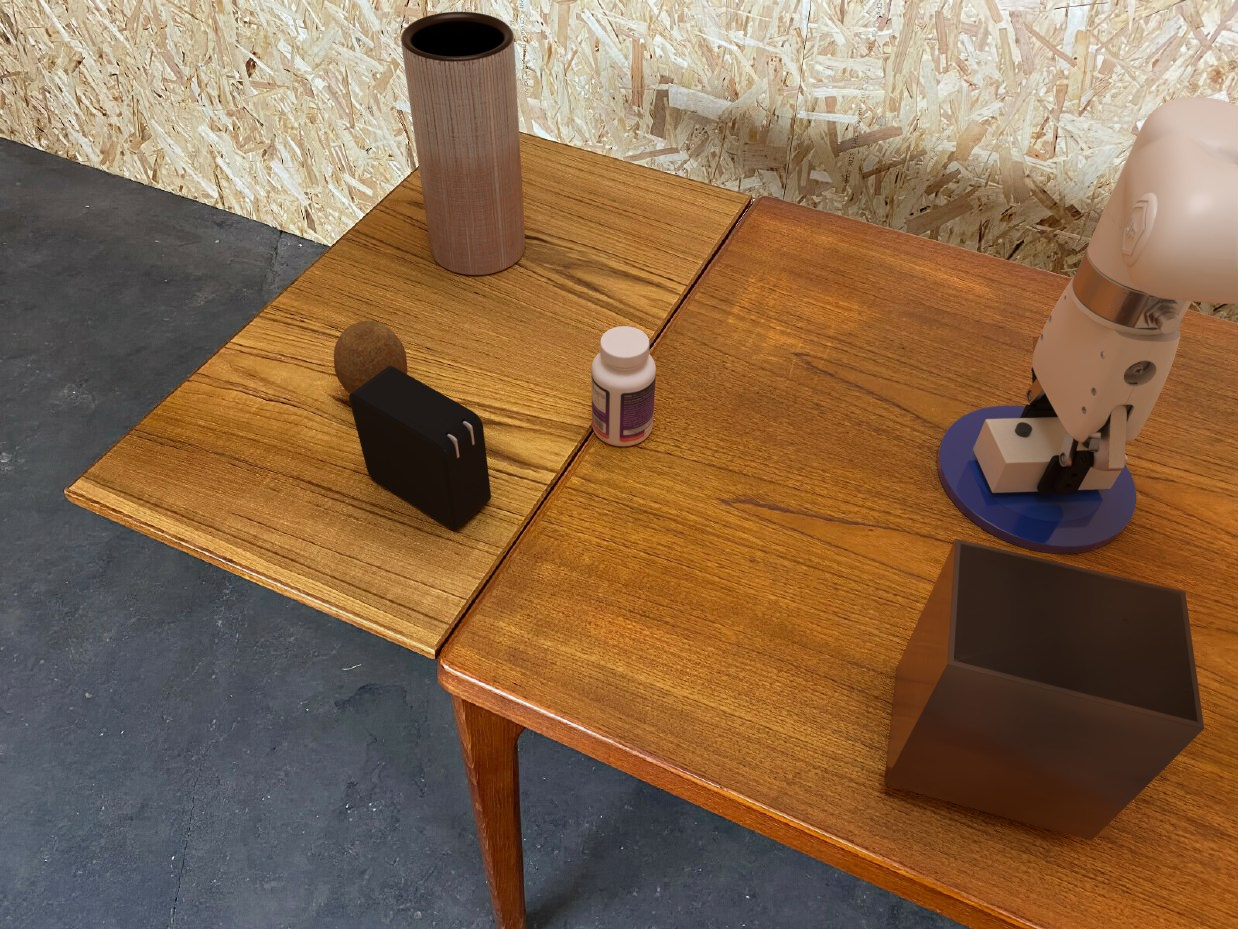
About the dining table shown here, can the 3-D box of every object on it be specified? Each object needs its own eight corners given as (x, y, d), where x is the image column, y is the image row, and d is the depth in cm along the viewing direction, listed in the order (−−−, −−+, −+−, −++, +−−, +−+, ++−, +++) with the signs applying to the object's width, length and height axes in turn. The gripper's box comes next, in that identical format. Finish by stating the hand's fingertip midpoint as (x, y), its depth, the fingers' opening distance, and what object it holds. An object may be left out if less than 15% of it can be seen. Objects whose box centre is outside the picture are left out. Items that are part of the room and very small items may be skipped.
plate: (1125, 434, 85) (1129, 426, 84) (1139, 574, 74) (1144, 567, 74) (942, 397, 88) (945, 389, 87) (930, 527, 77) (933, 519, 76)
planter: (533, 226, 105) (523, 14, 88) (516, 281, 98) (501, 62, 81) (443, 218, 105) (416, 6, 89) (420, 272, 99) (386, 53, 82)
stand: (1086, 716, 66) (1185, 591, 55) (1091, 841, 60) (1204, 729, 49) (896, 668, 68) (955, 538, 57) (884, 784, 62) (947, 664, 51)
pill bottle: (658, 410, 86) (664, 325, 78) (645, 453, 82) (651, 368, 75) (599, 400, 86) (600, 315, 79) (584, 442, 83) (584, 356, 76)
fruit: (329, 396, 86) (309, 326, 80) (385, 363, 89) (371, 294, 83) (370, 431, 83) (354, 361, 77) (427, 396, 86) (415, 327, 80)
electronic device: (404, 449, 82) (385, 361, 74) (492, 503, 78) (482, 415, 70) (368, 478, 79) (345, 390, 72) (457, 535, 75) (443, 448, 68)
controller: (1086, 445, 82) (1105, 410, 78) (1110, 489, 78) (1132, 453, 75) (972, 449, 81) (987, 413, 78) (992, 493, 77) (1008, 457, 74)
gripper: (1249, 364, 60) (1130, 544, 74) (1132, 216, 72) (1047, 394, 85) (1134, 367, 60) (1035, 548, 73) (1035, 218, 72) (965, 397, 85)
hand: (1043, 463), depth 79 cm, fingers closed on controller, 5 cm apart
